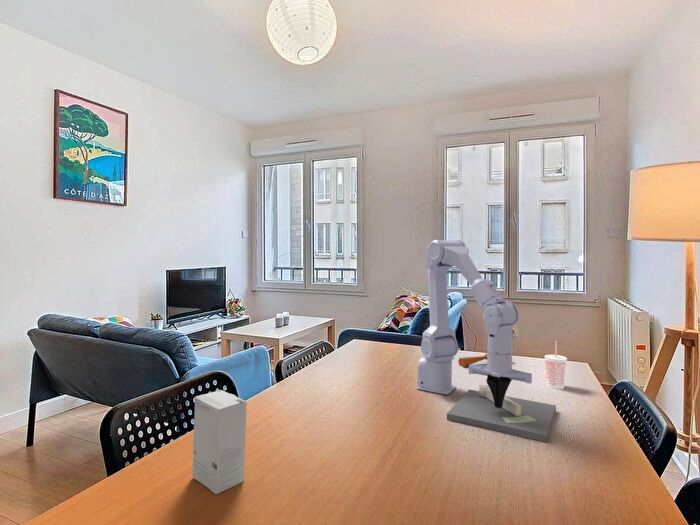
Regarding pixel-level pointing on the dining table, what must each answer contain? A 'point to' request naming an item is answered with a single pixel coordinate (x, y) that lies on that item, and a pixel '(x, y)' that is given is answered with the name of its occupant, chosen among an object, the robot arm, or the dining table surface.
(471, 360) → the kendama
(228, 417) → the skincare box
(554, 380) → the beverage cup
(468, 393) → the board
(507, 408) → the cream bar
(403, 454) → the dining table surface
